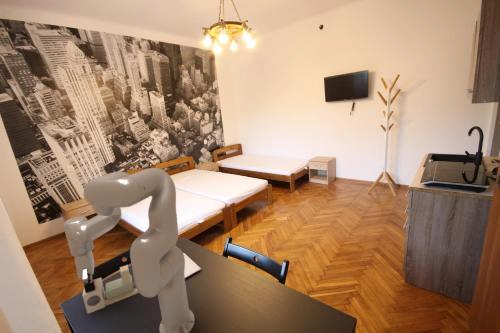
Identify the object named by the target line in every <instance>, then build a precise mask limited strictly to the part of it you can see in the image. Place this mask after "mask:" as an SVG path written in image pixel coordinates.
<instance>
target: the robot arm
mask: <svg viewBox="0 0 500 333" xmlns="http://www.w3.org/2000/svg"><path fill="white" fill-rule="evenodd" d="M83 196H84V200H85V201H86V202H87V203H88V204H89V205H90V206H91V208H92V210H93V211H94V213H95V214H97V215H96V216H95V215H94V216H93V217H91V218H90V219H88V218H87V217H86V216H83V215H82V216H81V215H78V216H74V217H71V218H68V219H67V220H65V221H64V223H63V229H64V233H65V237H66V240H67V244H68V247H69V252H70V255H71V256H72V257H74V262H75V263H74V264H75V268H76V272H77V273H76V274H77V278H78V280H82V282H83V289H84V288H85V292H86V293H88V292H91V291H94V290H95V285H94V281H92V280H93V277H96V276H97V270H96V267H95V259H94V254H93V250H94V249H95V246H94V241H95V240H96V239H98V238H99V237H101V236H103V235H104V234H106V233H107V232H109V231H111V230H113V229H114V228H115V226H116V225H117V224H118V223H119V221H120V219H121V217H122V208H129V207H132V206H135V205H137V204H138V203H141V202H142V201H145V200H146V199H147V198H150V197H151V200H150V203H149V205H148V210H147V211H148V212H147V215H148V217H147V218H148V228H147V229H146V231H144V232H143V233H141V234H140V235H139V236H138V237H137V238H135V239H134V240H133V242H132V244H131V246H130V250H129V254H130V255H129V258H130V262H131V270H132V271H131V272H132V278H133V282H134V283H135V286H136V288H137V290H138V292H139V293H138V294H140V295H141V296H143V297H144V298H154V297H156V296H157V298H158V304H159V309H160V310H159V311H160V316H161V320H160V324H159V329H158V330H159V333H191V331H192V329H193V328H194V326H195V315H194V312H193V311H192V310H191V309H190V308H189V301H188V294H187V287H186V286H187V284H186V278H185V276H184V270H185V258H184V254H183V253H184V251H182V250H181V248H179V247H178V246H177V242H178V240H179V225H178V214H177V191H176V185H175V182H174V180H173V178H172V177H171V176H170V174H169V173H167V171H165V170H164V169H162V168H157V167H151V168H146V169H143V170H140V171H137V172H134V173H132V174H129V173H127V172H124V171H114V172H110V173H107V174H104V175H100V176H98V177H95V178H93V179H92V178H91V180H89V181H88V182H87V183H86V184H85V185H84V188H83ZM175 244H176V246H177V247H176V246H174V245H175Z"/></svg>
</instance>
